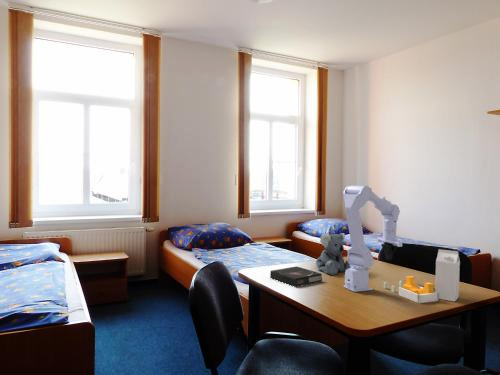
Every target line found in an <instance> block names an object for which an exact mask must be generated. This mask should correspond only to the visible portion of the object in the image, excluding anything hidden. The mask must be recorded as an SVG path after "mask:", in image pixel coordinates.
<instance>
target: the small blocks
mask: <svg viewBox="0 0 500 375" xmlns="http://www.w3.org/2000/svg"><path fill="white" fill-rule="evenodd" d="M403 281H404V280H403ZM403 281H402V280H399V281H398V288H399V287H401V288H402V285H403ZM383 289H388V282H386V281H384V282H383Z"/></svg>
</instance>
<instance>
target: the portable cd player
mask: <svg viewBox="0 0 500 375" xmlns="http://www.w3.org/2000/svg"><path fill="white" fill-rule="evenodd" d="M269 274H270V277H269V278H270V279H271V278H272V279H271V280H274V279H275V280H274V281H276V280H278V281H277V282H279V281H280V283H282V282H283V283H282V284H285V283H286V285H287V284H289V285H288V286H290V285H291V287H293V286H294V288H297V286H298V287H302V286H301V285H303V286H307V285H311V283H312V284H316V283H315V282H317V283H321V282H323V274H322V273H321V272H317V271H314V270H311V269H307V268H304V267H300V266H291V267H286V268H279V269H278V268H277V269H273V270H270V273H269ZM306 284H307V285H306Z"/></svg>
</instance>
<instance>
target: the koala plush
mask: <svg viewBox="0 0 500 375" xmlns="http://www.w3.org/2000/svg"><path fill="white" fill-rule="evenodd" d="M345 238H346V235H345V233H343V232H340V233H339V234H338V233H326V232H325V233H323V234H321V235H320V236H319V240H320V241H319V243H321V245H322V246H323V247H324V250H322V252H321V254H320V256H319V257H318V258H316V261H315V265H316V268H317V270H319V271H321V272H323V273H325V274H326V275H329V276H336V275H337V274H338V273H339V272H342V273H345V271H346V270H347V269H349V268H351V267H350V264H349V263H348V261H347V260H346V261H345V259H344V257H343V255H342V254H343V252H344V249H345V248H344V241H345Z"/></svg>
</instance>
